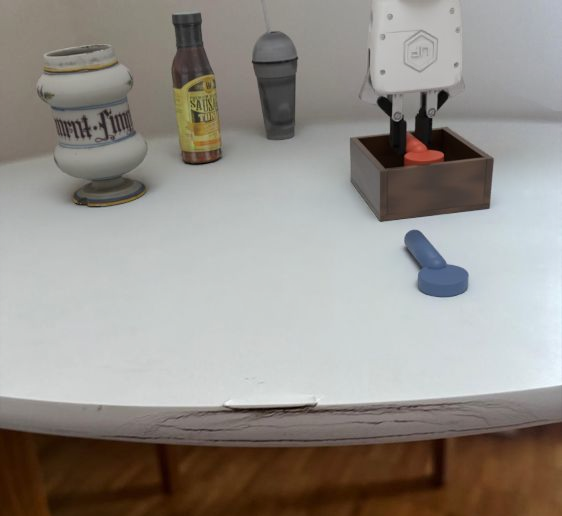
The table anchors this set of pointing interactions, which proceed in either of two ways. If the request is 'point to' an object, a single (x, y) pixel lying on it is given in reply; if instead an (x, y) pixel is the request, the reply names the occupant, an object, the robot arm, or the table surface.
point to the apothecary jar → (93, 122)
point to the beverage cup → (276, 81)
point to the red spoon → (420, 153)
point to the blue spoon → (435, 268)
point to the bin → (421, 177)
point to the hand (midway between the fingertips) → (410, 150)
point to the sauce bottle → (194, 92)
